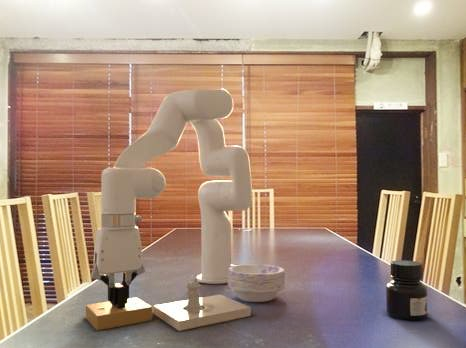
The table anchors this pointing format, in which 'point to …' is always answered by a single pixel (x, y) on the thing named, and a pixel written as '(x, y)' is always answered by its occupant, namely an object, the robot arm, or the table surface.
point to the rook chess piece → (193, 296)
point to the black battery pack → (120, 296)
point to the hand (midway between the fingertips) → (118, 302)
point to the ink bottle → (406, 291)
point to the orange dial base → (118, 314)
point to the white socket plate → (201, 312)
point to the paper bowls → (256, 281)
